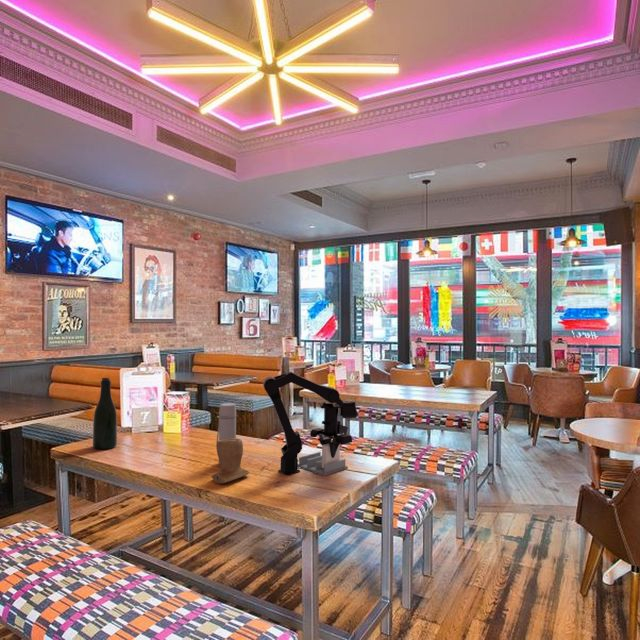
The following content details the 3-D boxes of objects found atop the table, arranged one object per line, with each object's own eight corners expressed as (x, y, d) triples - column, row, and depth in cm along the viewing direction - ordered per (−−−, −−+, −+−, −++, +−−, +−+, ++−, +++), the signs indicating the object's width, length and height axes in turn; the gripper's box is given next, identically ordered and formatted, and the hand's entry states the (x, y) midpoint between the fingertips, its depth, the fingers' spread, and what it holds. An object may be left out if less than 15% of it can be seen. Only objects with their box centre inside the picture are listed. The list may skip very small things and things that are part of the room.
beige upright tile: (326, 468, 187) (326, 446, 187) (321, 467, 189) (322, 445, 189) (339, 464, 193) (339, 442, 193) (335, 463, 194) (335, 441, 194)
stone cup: (231, 470, 188) (232, 433, 189) (253, 476, 182) (254, 437, 182) (202, 480, 176) (203, 440, 176) (224, 487, 169) (225, 445, 169)
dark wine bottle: (119, 447, 220) (120, 377, 220) (95, 451, 213) (97, 379, 214) (113, 443, 228) (114, 375, 228) (89, 446, 221) (90, 377, 222)
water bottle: (239, 462, 199) (240, 403, 200) (228, 467, 192) (229, 406, 193) (222, 459, 203) (222, 402, 204) (210, 464, 196) (211, 404, 196)
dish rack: (324, 475, 183) (324, 465, 183) (296, 466, 195) (296, 457, 195) (347, 468, 193) (347, 458, 193) (320, 459, 204) (320, 451, 205)
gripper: (361, 419, 190) (360, 458, 190) (328, 412, 203) (327, 448, 203) (343, 423, 182) (342, 463, 182) (309, 416, 195) (309, 453, 195)
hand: (330, 456), depth 191 cm, fingers closed on beige upright tile, 2 cm apart
